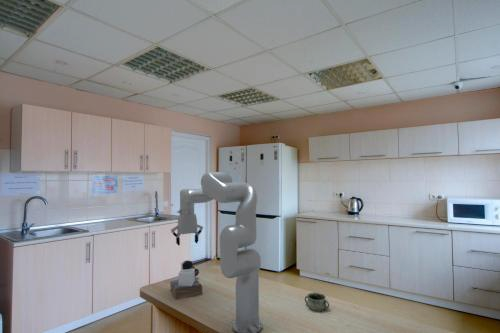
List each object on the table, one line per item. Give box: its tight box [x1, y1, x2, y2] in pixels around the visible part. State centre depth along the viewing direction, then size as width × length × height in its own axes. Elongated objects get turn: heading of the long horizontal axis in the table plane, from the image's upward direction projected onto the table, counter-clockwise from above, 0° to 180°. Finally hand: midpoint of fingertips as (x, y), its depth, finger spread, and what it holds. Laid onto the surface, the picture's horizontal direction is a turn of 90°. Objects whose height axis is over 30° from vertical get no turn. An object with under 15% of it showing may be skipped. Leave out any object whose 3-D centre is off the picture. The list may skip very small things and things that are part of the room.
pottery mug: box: [192, 265, 200, 278], centre depth 175 cm, size 12×9×8 cm
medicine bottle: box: [177, 260, 196, 286], centre depth 152 cm, size 7×7×12 cm
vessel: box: [304, 292, 330, 313], centre depth 133 cm, size 12×9×6 cm
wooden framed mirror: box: [170, 277, 203, 300], centre depth 154 cm, size 14×14×5 cm
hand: (187, 243), depth 153 cm, fingers open, 9 cm apart
